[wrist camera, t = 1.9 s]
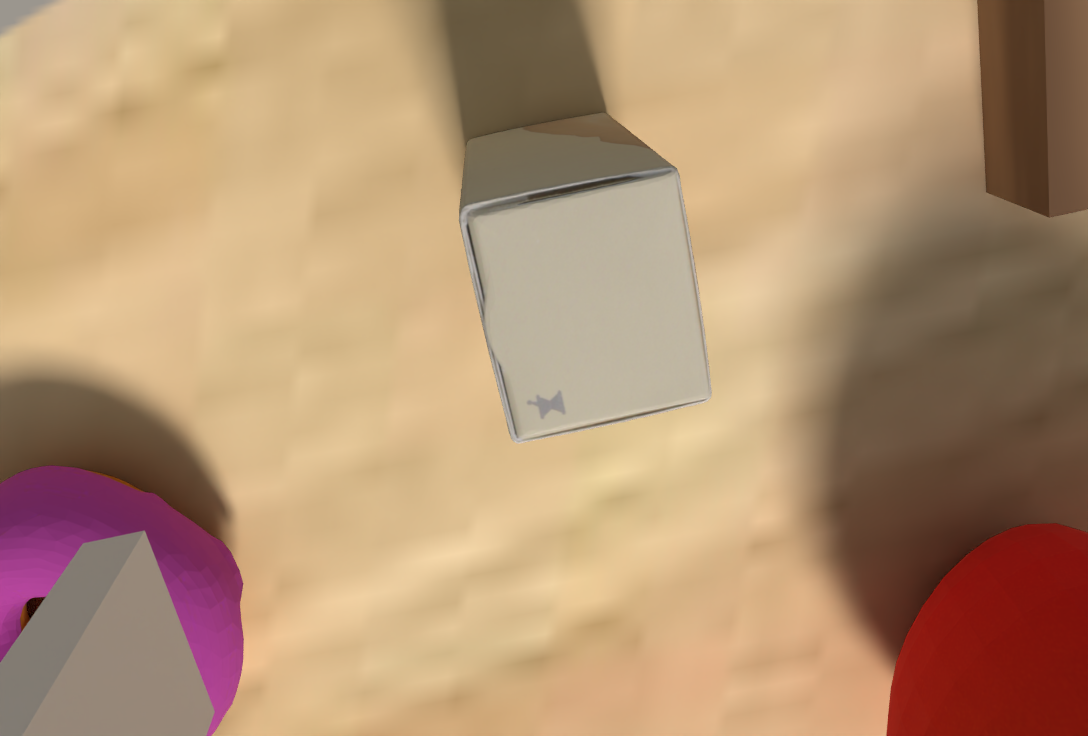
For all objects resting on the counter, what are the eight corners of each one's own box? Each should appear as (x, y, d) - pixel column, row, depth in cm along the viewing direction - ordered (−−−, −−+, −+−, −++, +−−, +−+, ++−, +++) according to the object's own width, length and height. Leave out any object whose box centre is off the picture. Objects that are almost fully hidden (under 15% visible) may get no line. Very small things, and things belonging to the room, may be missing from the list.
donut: (72, 391, 31) (10, 454, 27) (328, 585, 34) (308, 669, 30) (-120, 606, 33) (-206, 695, 29) (137, 771, 36) (93, 874, 32)
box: (635, 275, 31) (719, 418, 21) (496, 303, 31) (510, 461, 21) (606, 99, 29) (682, 161, 19) (459, 130, 29) (453, 208, 19)
